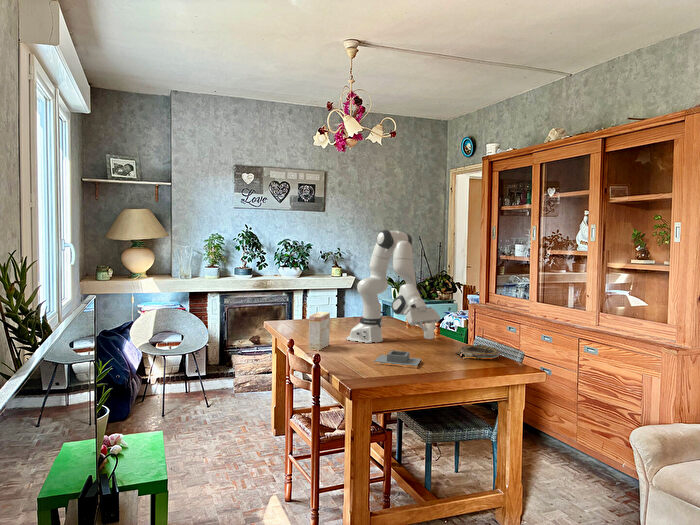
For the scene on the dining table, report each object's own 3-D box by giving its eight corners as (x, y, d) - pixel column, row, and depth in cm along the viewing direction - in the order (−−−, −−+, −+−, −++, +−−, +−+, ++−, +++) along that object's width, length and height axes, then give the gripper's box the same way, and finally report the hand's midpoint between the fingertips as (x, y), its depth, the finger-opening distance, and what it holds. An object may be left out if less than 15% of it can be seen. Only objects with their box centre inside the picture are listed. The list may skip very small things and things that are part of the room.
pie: (476, 348, 304) (477, 340, 303) (517, 359, 282) (517, 350, 282) (444, 355, 286) (445, 346, 286) (485, 367, 265) (486, 358, 265)
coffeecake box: (318, 344, 303) (319, 311, 302) (329, 345, 301) (330, 312, 299) (308, 349, 289) (308, 315, 288) (319, 351, 287) (320, 316, 285)
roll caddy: (374, 364, 263) (374, 354, 263) (380, 357, 276) (380, 348, 276) (417, 368, 257) (417, 358, 256) (421, 361, 270) (421, 352, 270)
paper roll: (423, 338, 272) (423, 323, 271) (424, 336, 277) (425, 321, 276) (433, 339, 270) (433, 324, 270) (434, 337, 275) (435, 322, 275)
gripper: (429, 310, 288) (441, 331, 281) (401, 313, 277) (412, 334, 269) (435, 303, 284) (447, 324, 276) (406, 306, 272) (418, 327, 265)
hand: (430, 329), depth 273 cm, fingers closed on paper roll, 5 cm apart
